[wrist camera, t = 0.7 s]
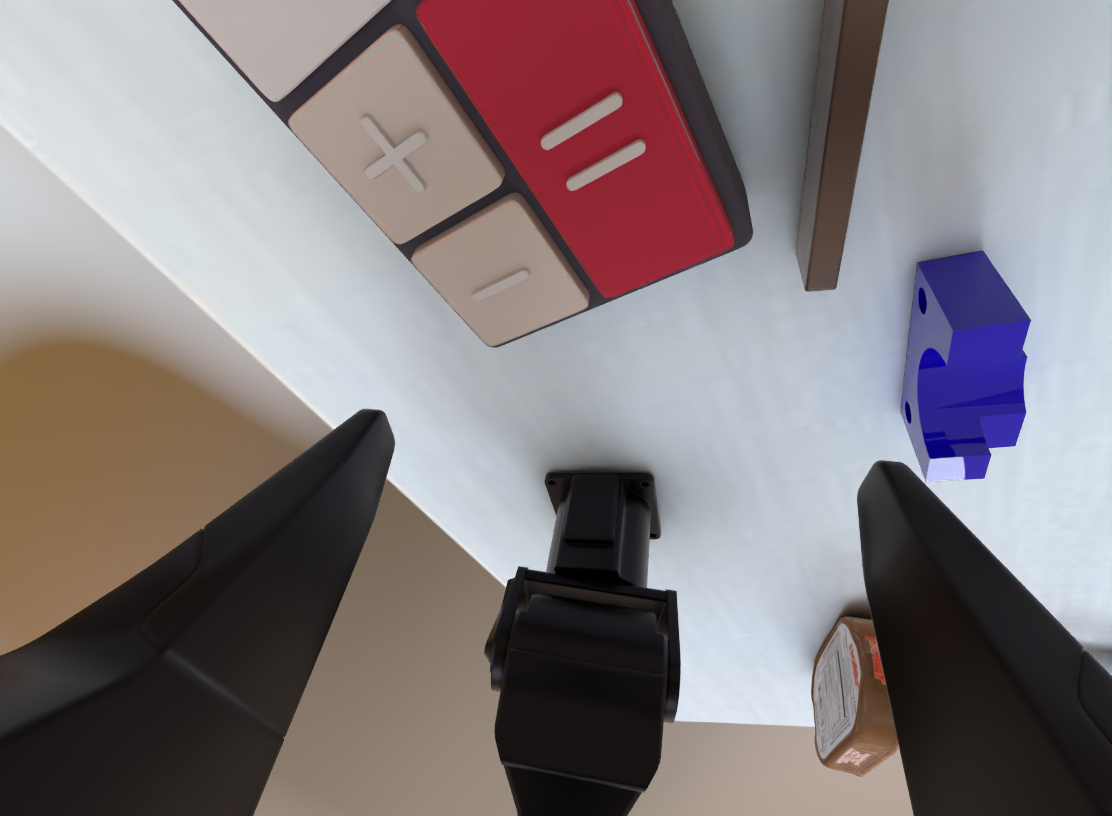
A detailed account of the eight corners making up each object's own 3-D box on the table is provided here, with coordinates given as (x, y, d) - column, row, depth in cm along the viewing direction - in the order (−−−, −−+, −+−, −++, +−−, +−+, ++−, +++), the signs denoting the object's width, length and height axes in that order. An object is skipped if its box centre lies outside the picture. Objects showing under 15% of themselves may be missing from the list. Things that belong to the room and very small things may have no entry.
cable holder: (992, 402, 24) (1030, 475, 21) (900, 411, 25) (925, 481, 23) (1035, 241, 19) (1093, 311, 16) (917, 262, 20) (953, 331, 17)
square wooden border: (1240, 215, 17) (1300, 258, 16) (795, 254, 21) (804, 292, 19) (1654, -370, 10) (1860, -412, 8) (842, -159, 13) (866, -156, 11)
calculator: (486, 365, 22) (110, -35, 13) (506, 299, 25) (206, -68, 16) (760, 257, 17) (438, -528, 8) (747, 188, 20) (498, -450, 11)
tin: (838, 675, 48) (858, 790, 42) (799, 670, 48) (814, 783, 43) (892, 598, 37) (929, 738, 31) (841, 593, 38) (868, 729, 32)
